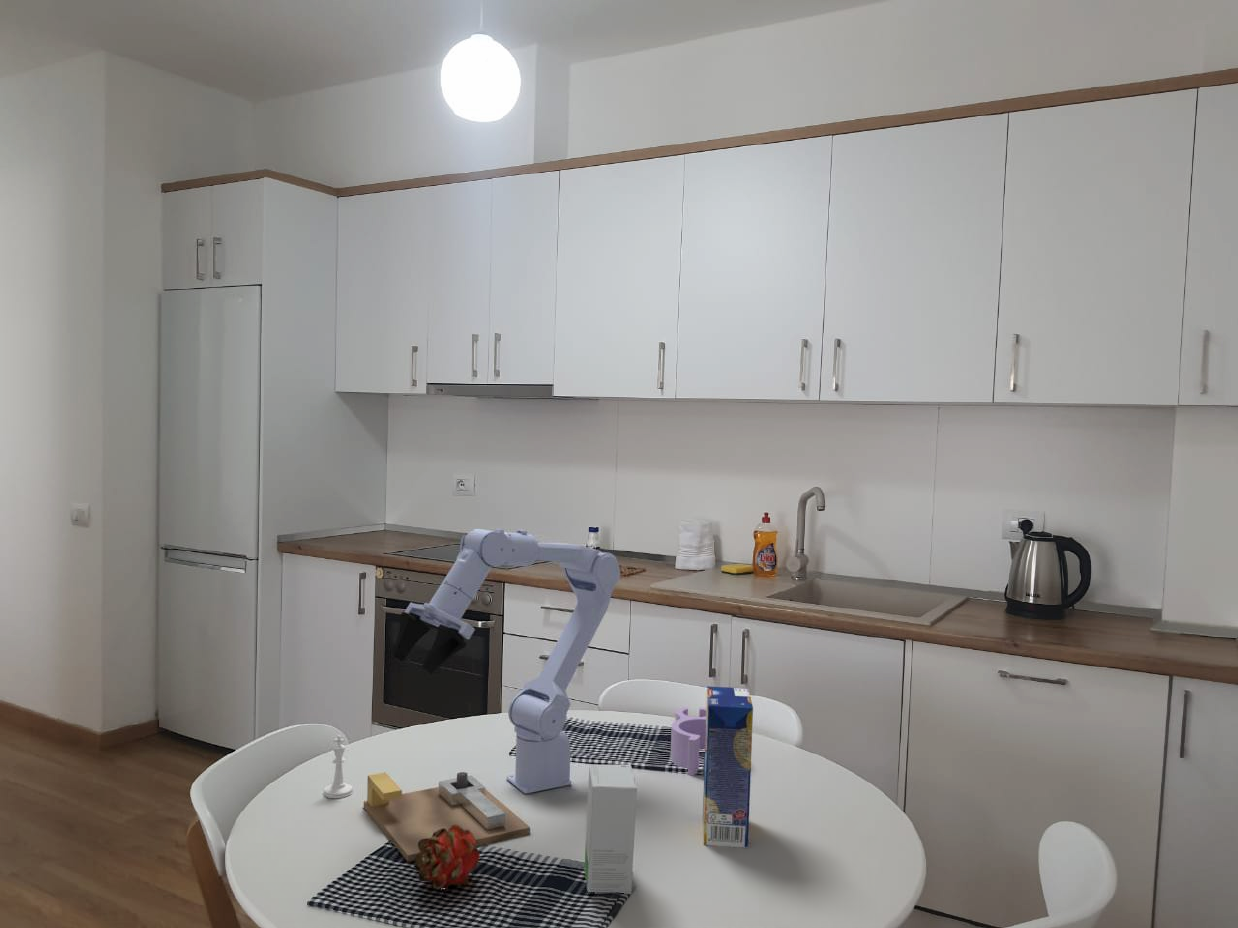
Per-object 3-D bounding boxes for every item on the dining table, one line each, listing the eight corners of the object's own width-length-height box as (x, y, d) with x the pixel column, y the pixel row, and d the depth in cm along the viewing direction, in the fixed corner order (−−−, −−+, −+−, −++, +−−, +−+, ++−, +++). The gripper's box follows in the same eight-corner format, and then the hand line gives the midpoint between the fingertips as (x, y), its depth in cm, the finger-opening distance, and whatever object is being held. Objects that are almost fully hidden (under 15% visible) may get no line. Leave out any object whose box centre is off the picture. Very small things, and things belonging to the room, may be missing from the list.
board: (474, 785, 165) (475, 757, 165) (530, 833, 146) (531, 802, 146) (363, 807, 154) (364, 777, 154) (407, 861, 136) (408, 828, 135)
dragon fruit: (422, 915, 124) (456, 886, 136) (473, 884, 123) (503, 857, 135) (392, 858, 126) (428, 833, 137) (442, 826, 125) (474, 804, 136)
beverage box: (743, 817, 154) (748, 688, 154) (748, 847, 143) (753, 708, 143) (702, 815, 155) (707, 686, 154) (703, 844, 144) (708, 705, 143)
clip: (662, 739, 192) (663, 707, 192) (721, 740, 193) (722, 707, 193) (676, 776, 172) (677, 739, 172) (741, 776, 173) (743, 740, 173)
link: (438, 792, 158) (438, 781, 158) (471, 786, 161) (471, 775, 161) (478, 831, 144) (478, 818, 143) (513, 823, 147) (513, 811, 147)
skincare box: (584, 867, 136) (587, 762, 135) (629, 866, 136) (632, 762, 135) (587, 896, 127) (590, 785, 127) (634, 895, 128) (638, 785, 127)
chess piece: (344, 799, 157) (345, 741, 157) (317, 796, 158) (318, 738, 158) (358, 788, 162) (359, 732, 161) (332, 785, 163) (333, 729, 162)
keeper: (384, 797, 156) (385, 772, 156) (401, 816, 149) (402, 789, 148) (367, 801, 154) (367, 775, 154) (383, 820, 147) (383, 793, 147)
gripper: (414, 570, 154) (368, 641, 149) (472, 590, 145) (425, 666, 140) (438, 591, 159) (394, 661, 154) (496, 611, 150) (451, 686, 145)
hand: (411, 664), depth 147 cm, fingers open, 7 cm apart
